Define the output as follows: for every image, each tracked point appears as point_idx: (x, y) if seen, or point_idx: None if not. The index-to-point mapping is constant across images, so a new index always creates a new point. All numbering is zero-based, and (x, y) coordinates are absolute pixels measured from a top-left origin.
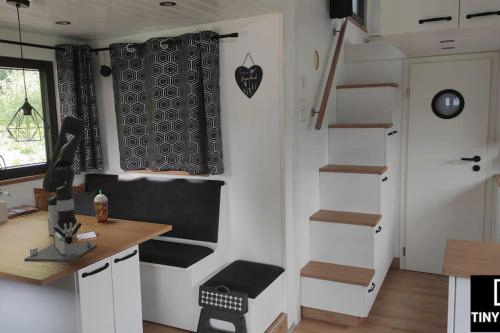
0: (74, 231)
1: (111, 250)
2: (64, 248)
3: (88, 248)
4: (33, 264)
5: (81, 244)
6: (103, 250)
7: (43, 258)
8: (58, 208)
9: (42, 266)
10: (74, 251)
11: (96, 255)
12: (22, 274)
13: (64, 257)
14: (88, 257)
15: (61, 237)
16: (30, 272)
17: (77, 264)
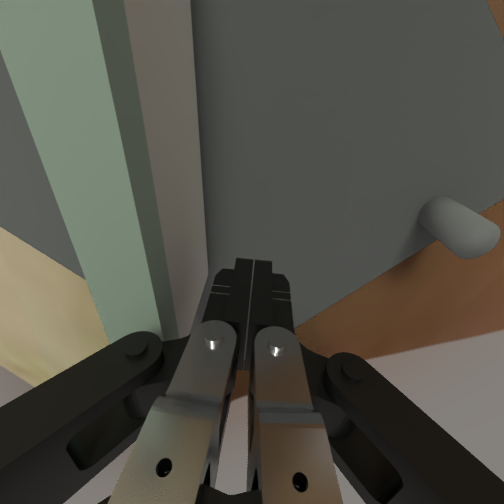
0: (335, 458)
1: (492, 330)
2: (197, 301)
3: (409, 242)
4: (15, 273)
5: (470, 12)
6: (465, 301)
7: (56, 252)
8: None
9: (80, 331)
10: (288, 243)
11: (370, 351)
12: (6, 366)
13: (195, 319)
14: (321, 352)
15: (143, 326)
16: (38, 365)
17: (240, 395)
